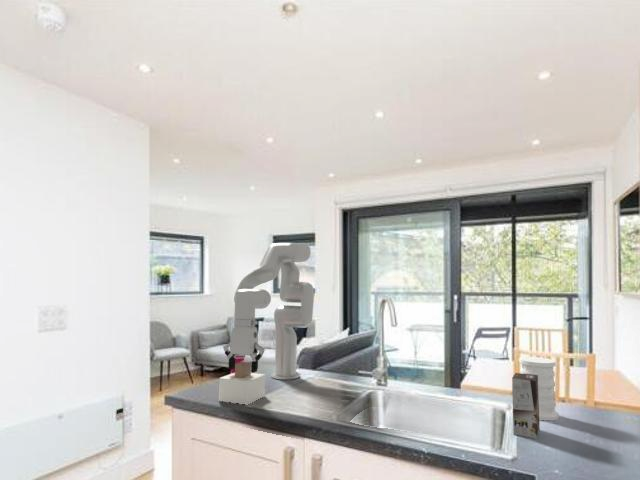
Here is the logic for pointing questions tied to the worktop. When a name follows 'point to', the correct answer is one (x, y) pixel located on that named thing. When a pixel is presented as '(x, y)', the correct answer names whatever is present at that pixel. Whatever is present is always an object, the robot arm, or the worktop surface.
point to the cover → (242, 385)
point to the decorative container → (542, 384)
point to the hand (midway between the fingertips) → (242, 370)
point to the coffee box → (525, 405)
